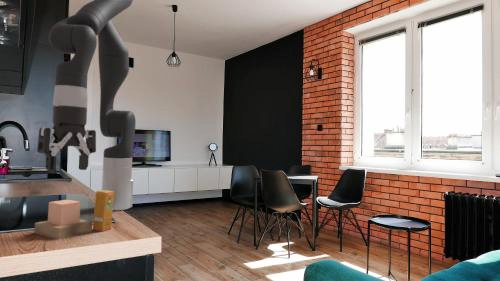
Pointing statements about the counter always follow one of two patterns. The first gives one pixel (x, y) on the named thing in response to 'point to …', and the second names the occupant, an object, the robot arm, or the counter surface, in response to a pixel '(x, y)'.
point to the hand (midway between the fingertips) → (67, 170)
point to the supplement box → (103, 210)
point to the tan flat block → (62, 229)
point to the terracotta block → (64, 212)
